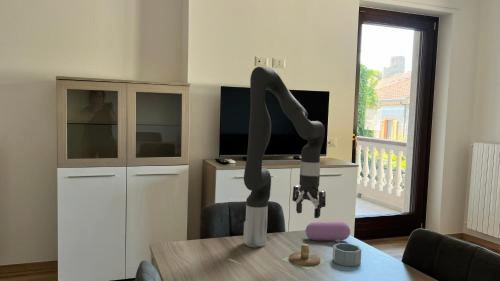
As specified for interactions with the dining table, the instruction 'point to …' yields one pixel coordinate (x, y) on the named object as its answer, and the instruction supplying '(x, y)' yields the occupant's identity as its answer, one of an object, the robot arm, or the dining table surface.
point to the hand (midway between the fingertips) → (307, 215)
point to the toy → (328, 231)
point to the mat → (305, 266)
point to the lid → (304, 257)
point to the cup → (346, 254)
